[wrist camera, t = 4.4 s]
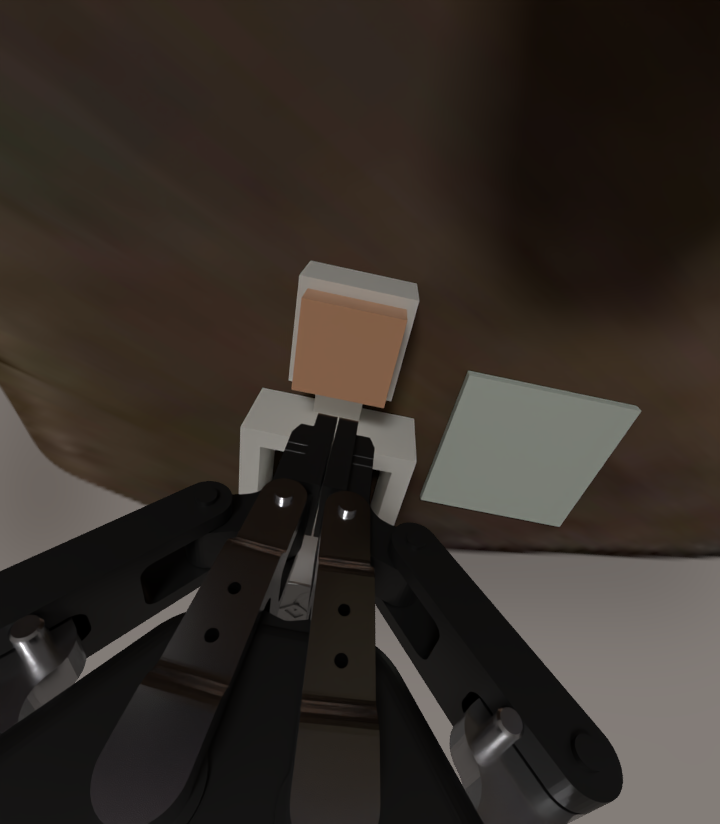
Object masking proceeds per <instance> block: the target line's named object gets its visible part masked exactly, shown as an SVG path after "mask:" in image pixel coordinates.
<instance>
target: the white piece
mask: <svg viewBox="0 0 720 824" xmlns="http://www.w3.org/2000/svg"><path fill="white" fill-rule="evenodd" d="M308 288H309V289H313V290H318V291H323V292H327V293H332V294H337V295H341V296H346V297H351V298H355V299H360V300H365V301H369V302H374V303H379V304H383V305H388V306H393V307H397V308H402V309H406V310H407V324H406V328H405V332H404V335H403V339H402V343H401V346H400V350H399V354H398V358H397V361H396V365H395V369H394V372H393V376H392V380H391V384H390V387H389V391H388V395H387V398H386V400H387V401H392V397H393V393H394V390H395V386H396V383H397V379H398V375H399V372H400V368H401V365H402V361H403V358H404V354H405V350H406V347H407V343H408V340H409V336H410V332H411V329H412V325H413V322H414V318H415V314H416V311H417V307H418V304H419V295H418V288H417V284H416V283H412V282H407V281H402V280H398V279H393V278H389V277H384V276H379V275H375V274H370V273H366V272H361V271H356V270H352V269H347V268H343V267H338V266H333V265H329V264H324V263H320V262H315V261H310V262H309V263H308V265H307V266H306V267H305V268H304V270H303V271H302V272H301V274H300V275H299V284H298V294H297V303H296V313H295V323H294V332H293V342H292V352H291V362H290V371H289V380H290V381H292V380H293V371H294V362H295V353H296V344H297V335H298V326H299V317H300V307H301V298H302V296H303V295H304V293H305V292H306V290H307V289H308ZM362 405H363V404H360V403H355V402H350V401H346V400H341V399H336V398H331V397H326V396H321V395H315V398H310V397H305V396H300V395H296V394H291V393H286V392H281V391H276V390H271V389H266V388H262V390H261V392H260V393H259V395H258V397H257V399H256V400H255V402H254V404H253V406H252V408H251V409H250V411H249V413H248V415H247V416H246V418H245V420H244V422H243V423H242V425H241V432H240V468H239V494H250V493H255V492H258V491H260V490H262V488H263V487H264V486H265V485H266V484H267V483H268V482H270V481H272V477H273V466H274V455H275V450H279V451H284V450H285V447H286V445H287V442H288V440H289V437H290V435H291V432H292V431H293V430H294V429H295V428H296V427H298V426H299V425H300V424H306V425H311V426H314V424H315V421H316V418H317V415H318V413H321V414H326V415H330V416H335V417H338V420H337V425H338V421H339V417H340V418H345V419H350V420H355V421H359V423H358V429H357V434H356V435H359V436H364V437H369V438H370V439H371V441H372V443H373V445H374V447H375V451H374V459H373V468H372V469H375V470H380V474H379V477H378V481H377V484H376V487H375V491H374V494H373V498H372V501H371V504H370V506H371V508H372V510H373V512H374V513H375V514H376V515H377V516H378V517H379V518H380V519H382V520H383V521H385V522H387V523H389V524H391V525H393V526H394V524H395V521H396V518H397V515H398V513H399V510H400V507H401V504H402V501H403V499H404V496H405V493H406V490H407V487H408V485H409V482H410V479H411V476H412V473H413V471H414V468H415V465H416V462H417V461H416V444H415V427H414V419H413V418H408V417H403V416H398V415H394V414H389V413H384V412H379V411H374V410H369V409H364V408H362ZM337 425H336V429H337ZM335 433H336V430H335ZM334 437H335V436H334Z"/></svg>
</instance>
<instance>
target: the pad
mask: <svg viewBox="0 0 720 824" xmlns="http://www.w3.org/2000/svg"><path fill="white" fill-rule="evenodd" d="M640 412H641V410H640V409H639V408H638V407H637V406H635V405H630V404H625V403H620V402H616V401H611V400H606V399H601V398H596V397H592V396H587V395H582V394H577V393H573V392H568V391H563V390H558V389H554V388H549V387H544V386H539V385H535V384H530V383H525V382H520V381H516V380H511V379H506V378H501V377H496V376H492V375H487V374H482V373H477V372H473V371H468V372H467V375H466V377H465V380H464V383H463V385H462V388H461V390H460V393H459V395H458V398H457V401H456V403H455V406H454V408H453V411H452V413H451V416H450V419H449V421H448V424H447V426H446V429H445V432H444V434H443V437H442V439H441V442H440V444H439V447H438V450H437V452H436V455H435V457H434V460H433V463H432V465H431V468H430V470H429V473H428V475H427V478H426V481H425V483H424V486H423V488H422V491H421V494H420V497H421V500H425V501H430V502H435V503H440V504H445V505H450V506H455V507H460V508H465V509H471V510H476V511H481V512H486V513H491V514H496V515H501V516H506V517H511V518H516V519H521V520H527V521H532V522H537V523H542V524H547V525H552V526H557V527H560V525H561V524H562V522H563V521H564V520H565V518H566V517H567V515H568V514H569V513H570V511H571V510H572V508H573V507H574V506H575V504H576V503H577V501H578V500H579V498H580V497H581V496H582V494H583V493H584V491H585V490H586V489H587V487H588V486H589V484H590V483H591V482H592V480H593V479H594V477H595V476H596V474H597V473H598V472H599V470H600V469H601V467H602V466H603V465H604V463H605V462H606V460H607V459H608V458H609V456H610V455H611V453H612V452H613V450H614V449H615V448H616V446H617V445H618V443H619V442H620V441H621V439H622V438H623V436H624V435H625V434H626V432H627V431H628V429H629V428H630V426H631V425H632V424H633V422H634V421H635V419H636V418H637V417H638V415H639V414H640Z"/></svg>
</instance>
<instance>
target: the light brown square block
mask: <svg viewBox="0 0 720 824" xmlns="http://www.w3.org/2000/svg"><path fill="white" fill-rule="evenodd" d="M406 324H407V310H406V309H402V308H397V307H393V306H388V305H383V304H379V303H374V302H369V301H365V300H360V299H355V298H351V297H346V296H341V295H337V294H332V293H327V292H323V291H318V290H313V289H309V288H308V289H307V290H306V292H305V293H304V295H303V296H302V298H301V307H300V317H299V326H298V335H297V344H296V353H295V362H294V371H293V380H292V390H297V391H302V392H306V393H311V394H316V395H321V396H326V397H331V398H336V399H341V400H346V401H350V402H355V403H360V404H365V405H370V406H375V407H380V408H384V406H385V402H386V398H387V395H388V391H389V387H390V384H391V380H392V376H393V372H394V369H395V365H396V361H397V358H398V354H399V350H400V346H401V343H402V339H403V335H404V332H405V328H406Z"/></svg>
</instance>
